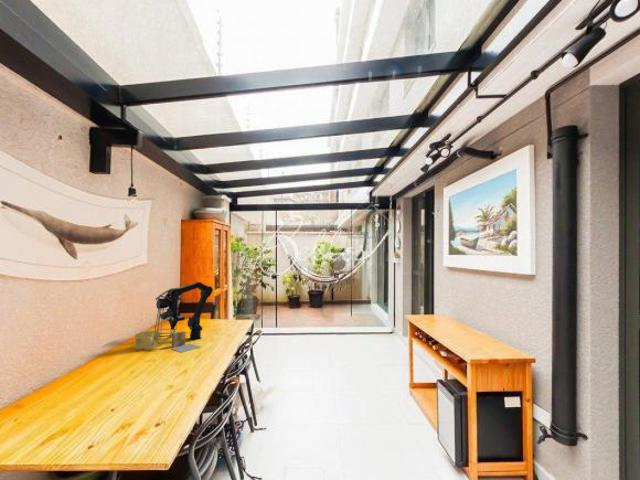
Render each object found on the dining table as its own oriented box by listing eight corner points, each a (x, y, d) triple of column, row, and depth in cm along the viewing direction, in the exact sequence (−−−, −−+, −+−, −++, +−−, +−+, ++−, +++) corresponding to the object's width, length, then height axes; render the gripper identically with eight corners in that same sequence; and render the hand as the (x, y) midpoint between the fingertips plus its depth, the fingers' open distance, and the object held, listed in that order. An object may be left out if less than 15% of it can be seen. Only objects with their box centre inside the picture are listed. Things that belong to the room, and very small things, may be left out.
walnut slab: (182, 344, 211) (182, 330, 211) (185, 344, 209) (185, 331, 210) (171, 347, 204) (172, 333, 205) (174, 347, 203) (174, 334, 203)
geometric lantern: (156, 335, 231) (159, 288, 233) (178, 334, 236) (181, 288, 238) (151, 341, 216) (154, 291, 218) (175, 340, 221) (178, 291, 223)
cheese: (150, 350, 197) (150, 334, 197) (133, 350, 197) (134, 334, 198) (159, 345, 207) (159, 330, 208) (143, 345, 208) (143, 330, 208)
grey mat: (189, 343, 211) (189, 343, 211) (200, 347, 205) (200, 346, 205) (170, 349, 200) (170, 348, 200) (181, 352, 193) (181, 352, 193)
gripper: (154, 307, 210) (153, 330, 210) (169, 310, 200) (169, 334, 199) (169, 304, 219) (169, 326, 219) (185, 307, 209) (184, 330, 209)
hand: (172, 329), depth 211 cm, fingers closed
